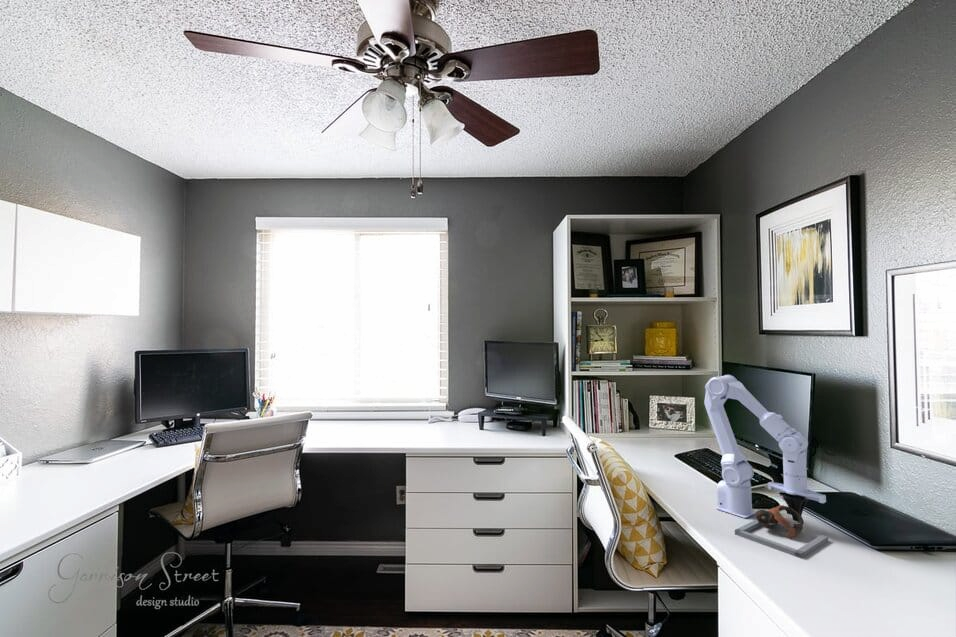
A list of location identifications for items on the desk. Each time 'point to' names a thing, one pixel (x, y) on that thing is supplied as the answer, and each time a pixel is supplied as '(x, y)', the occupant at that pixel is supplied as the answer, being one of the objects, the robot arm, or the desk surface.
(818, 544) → the frame
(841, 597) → the desk surface
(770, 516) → the orange curved piece
